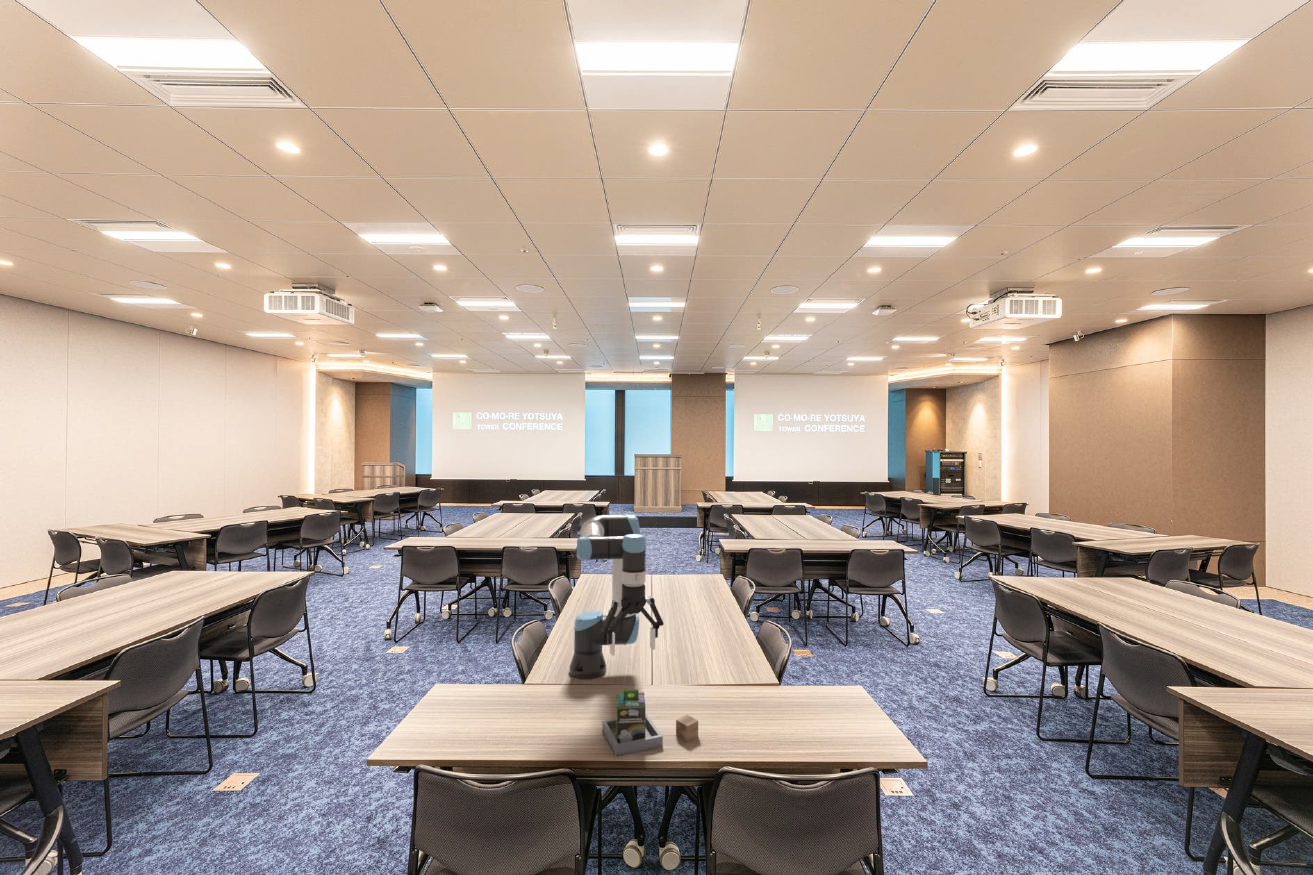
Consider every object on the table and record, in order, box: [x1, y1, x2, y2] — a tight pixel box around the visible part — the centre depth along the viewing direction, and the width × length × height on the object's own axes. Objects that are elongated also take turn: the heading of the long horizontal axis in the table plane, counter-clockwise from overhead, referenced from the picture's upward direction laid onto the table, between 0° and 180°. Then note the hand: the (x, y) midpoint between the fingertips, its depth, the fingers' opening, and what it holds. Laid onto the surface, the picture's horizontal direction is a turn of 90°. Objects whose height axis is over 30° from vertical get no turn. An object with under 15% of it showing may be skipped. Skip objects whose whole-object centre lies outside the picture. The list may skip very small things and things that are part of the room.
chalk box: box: [616, 689, 647, 744], centre depth 156 cm, size 9×9×15 cm
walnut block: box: [675, 714, 699, 743], centre depth 158 cm, size 5×5×5 cm
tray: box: [601, 712, 664, 757], centre depth 156 cm, size 15×15×3 cm
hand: (632, 650), depth 157 cm, fingers open, 13 cm apart
